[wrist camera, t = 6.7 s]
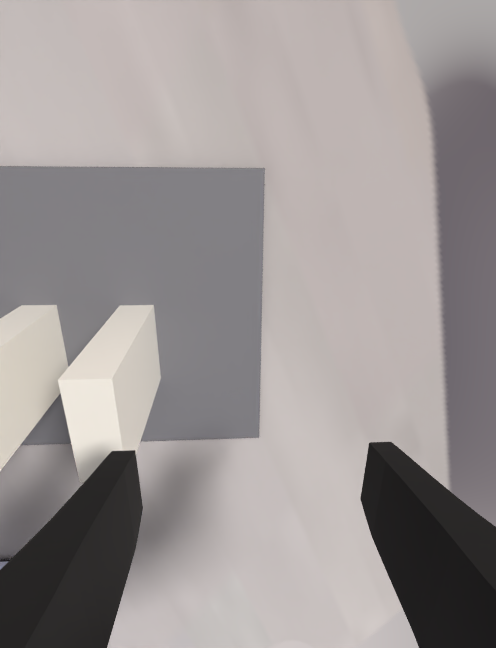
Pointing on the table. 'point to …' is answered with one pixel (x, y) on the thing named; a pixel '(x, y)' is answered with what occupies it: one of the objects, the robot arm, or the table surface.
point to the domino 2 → (112, 387)
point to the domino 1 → (28, 371)
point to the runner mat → (147, 280)
